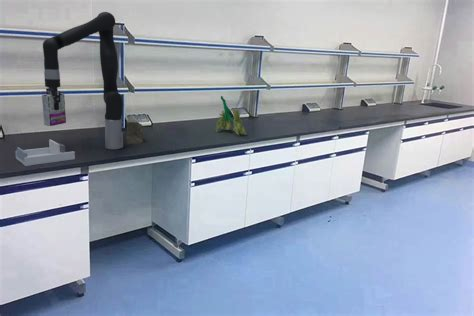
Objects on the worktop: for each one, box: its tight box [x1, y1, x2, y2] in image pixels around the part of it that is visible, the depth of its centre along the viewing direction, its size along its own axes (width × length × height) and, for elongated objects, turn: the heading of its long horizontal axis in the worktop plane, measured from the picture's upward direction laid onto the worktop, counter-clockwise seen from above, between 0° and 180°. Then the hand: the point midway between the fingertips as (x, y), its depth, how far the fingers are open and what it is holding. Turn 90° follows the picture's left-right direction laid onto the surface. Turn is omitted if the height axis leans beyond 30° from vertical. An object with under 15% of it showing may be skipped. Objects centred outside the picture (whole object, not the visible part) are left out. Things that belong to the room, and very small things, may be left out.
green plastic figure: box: [214, 95, 247, 136], centre depth 293 cm, size 26×17×30 cm, turn 48°
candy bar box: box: [41, 92, 67, 127], centre depth 218 cm, size 11×5×16 cm, turn 158°
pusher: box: [48, 139, 66, 154], centre depth 210 cm, size 5×12×7 cm, turn 44°
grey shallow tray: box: [15, 146, 76, 167], centre depth 206 cm, size 24×14×6 cm, turn 134°
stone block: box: [125, 118, 144, 145], centre depth 253 cm, size 10×15×15 cm
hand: (54, 109), depth 218 cm, fingers closed on candy bar box, 6 cm apart
